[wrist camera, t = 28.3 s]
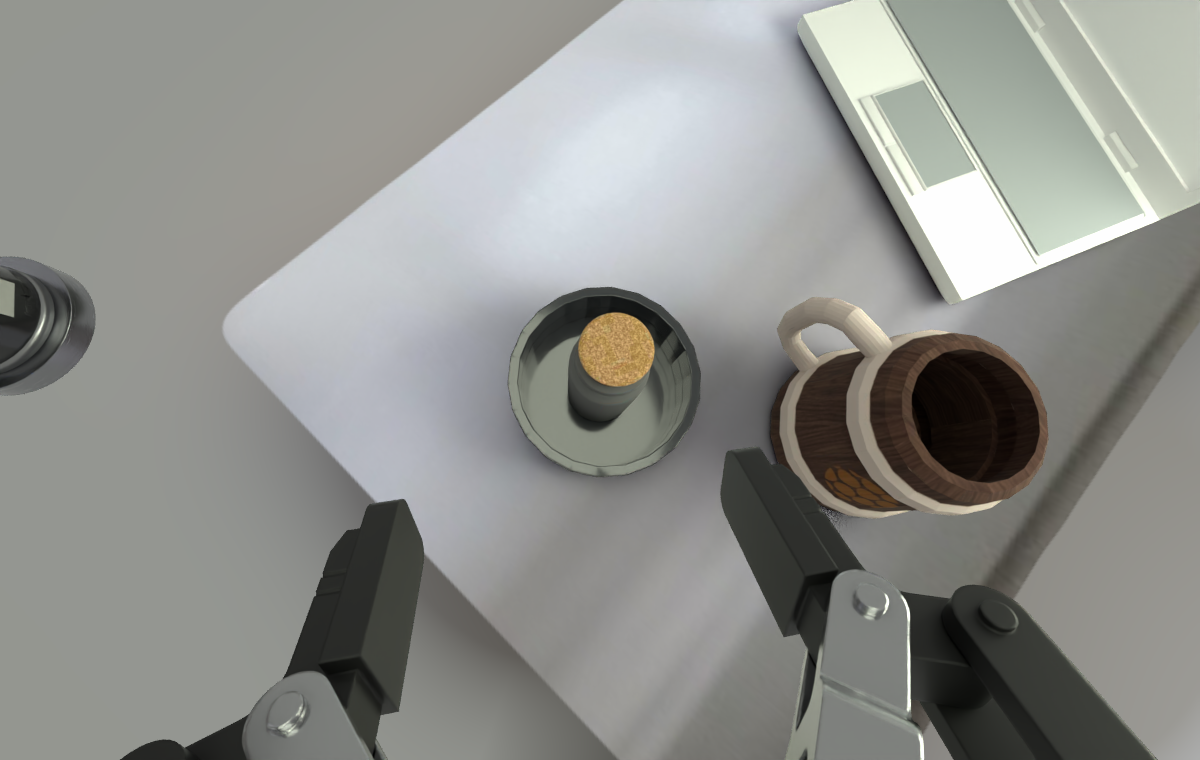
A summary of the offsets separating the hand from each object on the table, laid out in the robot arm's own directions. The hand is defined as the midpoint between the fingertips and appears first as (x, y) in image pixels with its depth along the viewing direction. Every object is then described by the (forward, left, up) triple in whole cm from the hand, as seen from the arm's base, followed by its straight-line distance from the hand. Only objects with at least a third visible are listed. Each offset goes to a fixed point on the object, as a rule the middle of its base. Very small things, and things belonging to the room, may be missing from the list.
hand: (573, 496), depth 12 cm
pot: (+6, +6, -31) cm, 32 cm away
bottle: (+6, +6, -31) cm, 32 cm away
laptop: (+56, +13, -31) cm, 66 cm away
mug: (+24, -6, -31) cm, 40 cm away
